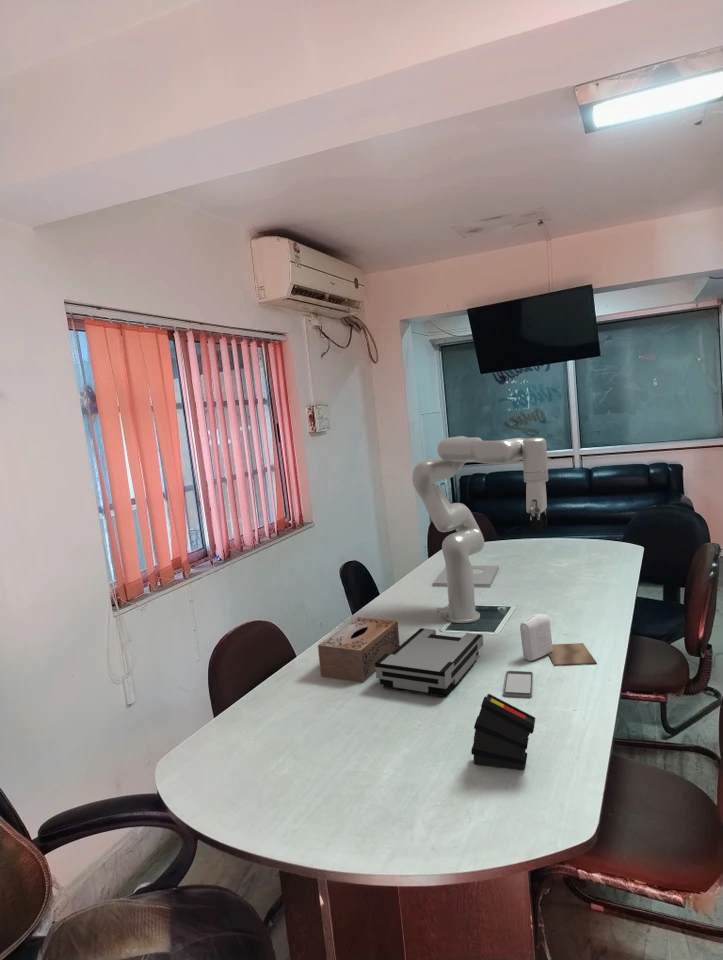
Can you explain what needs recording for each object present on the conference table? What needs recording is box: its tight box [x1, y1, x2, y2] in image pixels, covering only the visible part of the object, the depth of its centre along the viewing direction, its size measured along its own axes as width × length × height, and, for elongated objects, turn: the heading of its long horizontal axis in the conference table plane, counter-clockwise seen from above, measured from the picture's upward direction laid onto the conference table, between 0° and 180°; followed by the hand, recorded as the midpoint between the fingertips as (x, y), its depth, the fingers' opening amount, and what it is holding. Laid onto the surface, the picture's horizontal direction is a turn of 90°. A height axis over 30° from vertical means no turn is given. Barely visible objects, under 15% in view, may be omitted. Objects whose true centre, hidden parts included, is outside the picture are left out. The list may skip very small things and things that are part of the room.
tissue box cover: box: [317, 616, 401, 684], centre depth 193 cm, size 26×14×10 cm, turn 152°
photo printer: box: [519, 613, 553, 662], centre depth 187 cm, size 10×4×12 cm, turn 123°
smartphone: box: [502, 670, 534, 699], centre depth 170 cm, size 7×1×15 cm
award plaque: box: [432, 565, 500, 589], centre depth 280 cm, size 25×30×2 cm
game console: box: [375, 627, 484, 698], centre depth 183 cm, size 21×32×8 cm, turn 151°
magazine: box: [471, 693, 536, 771], centre depth 133 cm, size 4×13×15 cm, turn 70°
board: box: [547, 642, 598, 667], centre depth 187 cm, size 12×15×1 cm
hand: (539, 529), depth 200 cm, fingers open, 9 cm apart
